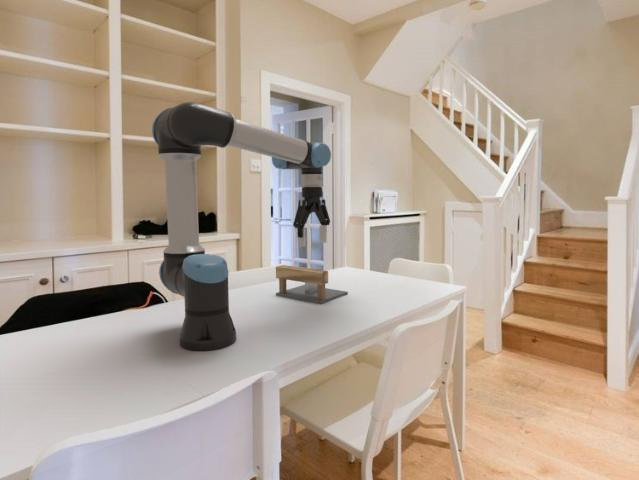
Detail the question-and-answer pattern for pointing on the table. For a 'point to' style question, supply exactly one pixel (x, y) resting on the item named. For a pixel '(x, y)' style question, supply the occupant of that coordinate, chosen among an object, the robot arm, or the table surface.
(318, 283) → the oak batten
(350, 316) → the table surface
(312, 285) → the ridge
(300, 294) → the board
